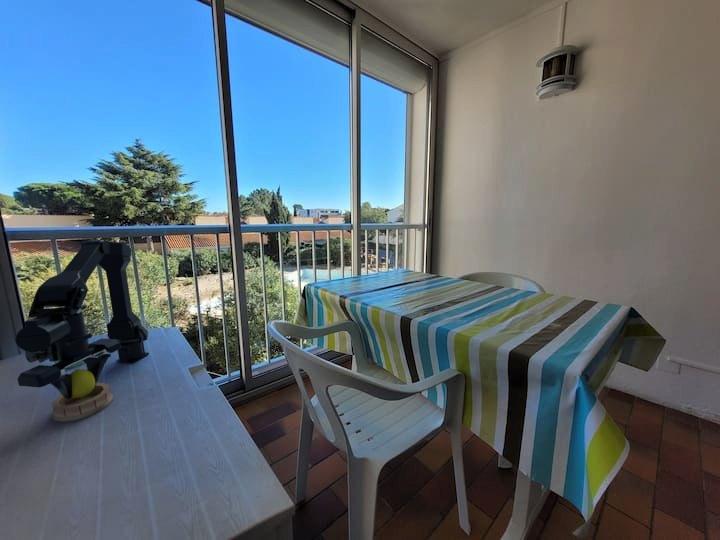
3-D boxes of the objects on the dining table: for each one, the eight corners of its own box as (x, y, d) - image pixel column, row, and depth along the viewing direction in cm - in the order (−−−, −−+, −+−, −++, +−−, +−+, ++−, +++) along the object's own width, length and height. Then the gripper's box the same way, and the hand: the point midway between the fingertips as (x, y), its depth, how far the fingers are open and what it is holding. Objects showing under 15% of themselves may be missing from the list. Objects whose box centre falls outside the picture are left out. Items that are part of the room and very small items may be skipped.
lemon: (102, 394, 74) (96, 366, 72) (73, 407, 69) (67, 377, 67) (91, 389, 76) (85, 361, 74) (63, 401, 71) (56, 372, 69)
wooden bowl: (88, 391, 79) (86, 380, 78) (124, 394, 77) (122, 383, 77) (38, 420, 68) (35, 407, 67) (80, 424, 66) (77, 411, 66)
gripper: (81, 317, 79) (91, 369, 82) (-13, 348, 61) (5, 413, 64) (117, 319, 78) (126, 371, 81) (33, 352, 59) (48, 417, 62)
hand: (81, 390), depth 72 cm, fingers closed on lemon, 5 cm apart
